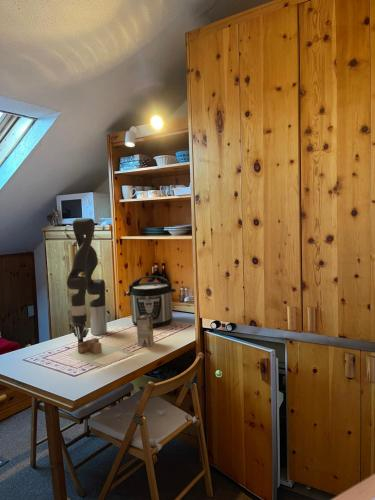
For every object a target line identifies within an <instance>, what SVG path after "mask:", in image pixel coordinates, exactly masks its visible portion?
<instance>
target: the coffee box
mask: <svg viewBox="0 0 375 500" xmlns="http://www.w3.org/2000/svg"><path fill="white" fill-rule="evenodd" d="M136 331H137V333H136V334H137V346H138V347H144V348H147V349H149V348H150V347H151V346H152V345H153V344H154V343H155V341H154V327H153V319H152V315H141V316H139V317H138V318H137V326H136Z"/></svg>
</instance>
